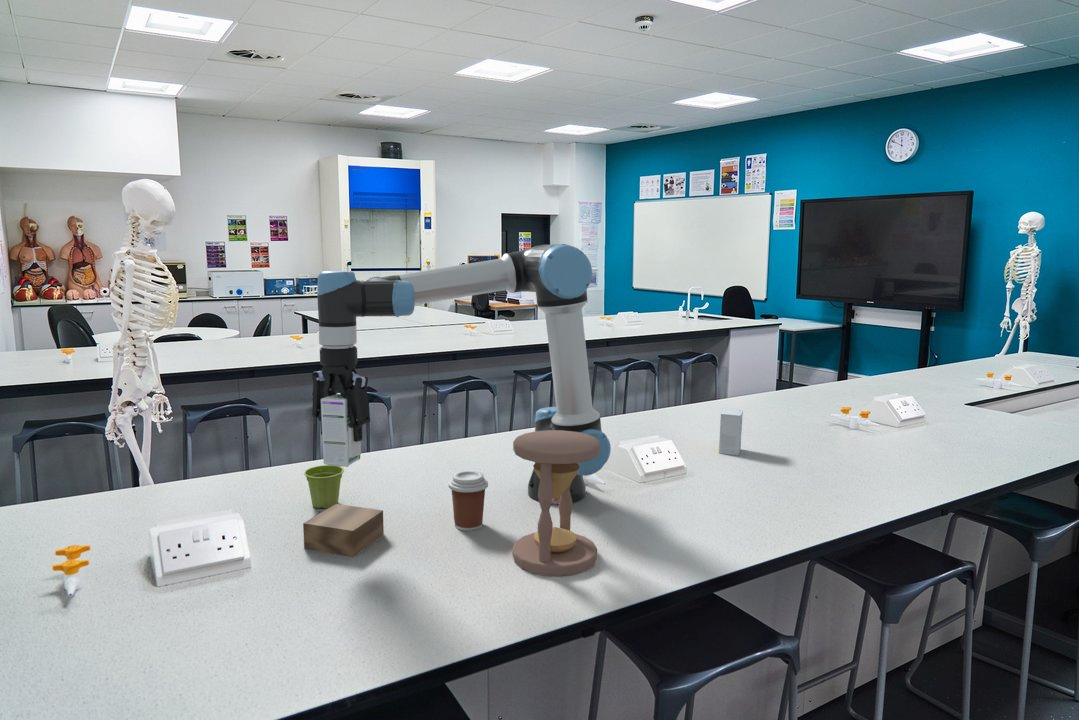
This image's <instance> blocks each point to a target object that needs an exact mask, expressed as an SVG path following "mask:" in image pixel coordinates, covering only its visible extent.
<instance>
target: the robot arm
mask: <svg viewBox="0 0 1079 720" xmlns="http://www.w3.org/2000/svg"><path fill="white" fill-rule="evenodd" d="M592 268H593V267H592V263H591V261H590V259H589V258H588V257H587V255H586V254H585V252H583V251H582V250H581V249H579V248H578V247H575V246H572V245H569V244H565V243H557V244H556V243H555V244H540V245H535V246H533V247H529V248H524V249H523V250H519V251H518V250H517V251H513V252H508V253H506V252H505V253H504V254H503V255H502V256H501V258H497V259H490V260H482V261H478V262H477V261H476V262H471V263H470V262H469V263H465V264H464V263H463V264H457V265H451V266H445V267H438V268H432V269H426V270H425V269H424V270H419V271H414V272H407V273H400V274H396V275H388V276H382V277H380V276H373V277H370V278H368V279H366V280H358V279H357V277H356V273H355V272H354V271H352V270H323V271H321V272H319V274H318V275H317V292H316V294H317V315H318V318H317V319H318V344H319V346H320V345H321V347H320V348H319V364H320V365H321V366H323V367H322V369H321V370H319V371H316V370H315V371H313V372H311V378H312V382H313V385H312V386H313V387H312V407H311V408H312V409H311V415H312V417H313V418H317V419H318V421H319V422H320V435H321V436H322V416H321V399H322V398H325V397H328V396H331V395H335V394H337V393H340V394H341V396H343V398H345V399H347V409H348V415H349V419H350V422H351V425H349V427H348V439H349V457H351V458H352V457H355V456H358V455H360V456H361V455H362V449H361V447H362V446H361V441H363V425H366V424H369V423H370V422H371V416H370V407H369V397H368V382H369V378H368V376H367V375H364V376H361V375H359V374H358V373H357V370H356V366H357V364H358V347H357V346H355V345H357V343H358V342H357V341H358V340H357V339H358V338H357V334H358V333H357V332H358V331H357V318H359V317H361V318H364V317H396V318H399V317H407V316H412V315H413V313H414V311H415V306H419V305H423V304H424V305H425V304H429V303H434V302H441V301H447V300H453V299H460V298H464V297H471V296H472V297H473V296H478V295H483V294H490V293H496V292H501V291H507V292H508V293H510V294H516V293H521V292H530V293H535V296H536V297H535V298H536V305H537V308H538V309H540V310H541V311H542V312H543V314H544V316H545V326H546V332H547V341H548V349H549V358H550V365H551V374H552V376H551V377H552V381H553V382H552V384H553V390H554V399H555V406H548V407H542V408H539V409H538V410H536V412H535V420H534V432H535V431H546V430H563V431H573V432H579V433H584V434H588V435H590V436H593V437H595V438H596V439H597V440H598V441H599V442H600V452H599V455H598V456H597V457H595V458H594V459H592V460H589V461H585V462H581V463H577V464H578V465H579V466H580V467H579V470H578V472H577V475H576V476H575V477H574V479H573V480H572V482H571V485H570V489H569V490H570V494H571V498H572V503H574V502H575V503H576V502H578V501H581V500H583V499H584V498H585V497H586V494H587V493H586V492H587V490H586V488H587V487H586V483H585V479H584V477H586V476H590V475H594V474H596V473H598V472H599V471H600V470H601V469H603V467H604V466H605V464H606V463H607V462H608V460H609V458H610V456H611V450H612V447H611V443H610V439H609V438H608V436H607V434H605V432H603V430H602V421H601V414H600V412H599V411H597V410H596V409H595V408H594V407H593V399H592V398H593V397H592V391H591V390H592V389H591V381H590V371H589V363H588V353H587V352H588V351H587V346H586V345H587V344H586V336H585V335H586V334H585V327H584V317H583V308H584V306H585V305H586V304H587V303H588V292H587V290H588V289H589V286H590V285H591V282H592V278H593V269H592ZM356 419H357V420H356ZM535 463H537V462H534V464H535ZM539 483H540V479H539V477H538V476H537V474H536V472H535V470H534V468H533V469H532V472H531V474H530V478H529V481H528V484H527V495H528V496H529V497H530V498H531V499H533V500H535V501H538V502H539V499H538V489H539ZM559 499H560V498H559Z"/></svg>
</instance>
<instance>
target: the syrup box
mask: <svg viewBox="0 0 1079 720" xmlns="http://www.w3.org/2000/svg"><path fill="white" fill-rule="evenodd" d="M321 416H322V435H321V436H322V439H321V440H322V456H323V457H322V458H323V459H322V460H323V464H324V465H331V466H340V467H342V468H344V467H345V468H346V467H347V468H348V467H350V466H351V465H352V464H354V463H356V462H357V461H359V460H360V459H361V455H358V456H355V457H352V458H351V457H349V439H348V427H349V425H351V422H350V419H349V415H348V409H347V399H345V398H343V396H341V394H340V392H337V394H335V395H331V396H328V397H325V398H322V399H321ZM356 420H357V419H356Z"/></svg>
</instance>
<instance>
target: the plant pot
mask: <svg viewBox="0 0 1079 720" xmlns="http://www.w3.org/2000/svg"><path fill="white" fill-rule="evenodd" d="M344 472H345V468H344V467H342V466H331V465H325V464H324V465H317V466H312V467H310V468H308V469H306V470H304V472H303V475H304V476H305V478H306V481H307V483H308V488H309V493H310V500H311V505H312V507H314V508H316V509H320V508H322V509H328V508H330V507H332V506H333V505H335V504H339V497H340V489H341V480H342V477H343V474H344Z"/></svg>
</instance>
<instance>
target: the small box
mask: <svg viewBox="0 0 1079 720" xmlns="http://www.w3.org/2000/svg"><path fill="white" fill-rule="evenodd" d="M743 414H744V412H743V409H733V408H722V411H721V412H720V421H719V422H720V423H719V440H718V441H719V443H718V454H719V455H720V454H721V455H730V456H740V452H741V449H742V448H741V446H742V432H743V431H742V430H743Z"/></svg>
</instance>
